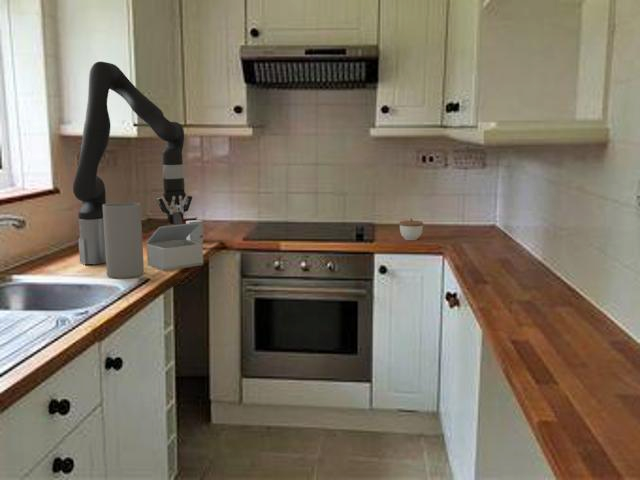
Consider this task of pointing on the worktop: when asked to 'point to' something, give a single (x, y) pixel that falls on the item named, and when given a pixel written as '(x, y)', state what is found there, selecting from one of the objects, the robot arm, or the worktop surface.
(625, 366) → the worktop surface
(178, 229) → the grey plate
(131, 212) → the cylinder vase
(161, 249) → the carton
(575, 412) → the worktop surface
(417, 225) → the lidded jar
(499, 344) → the worktop surface
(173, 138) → the robot arm
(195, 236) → the skincare box
